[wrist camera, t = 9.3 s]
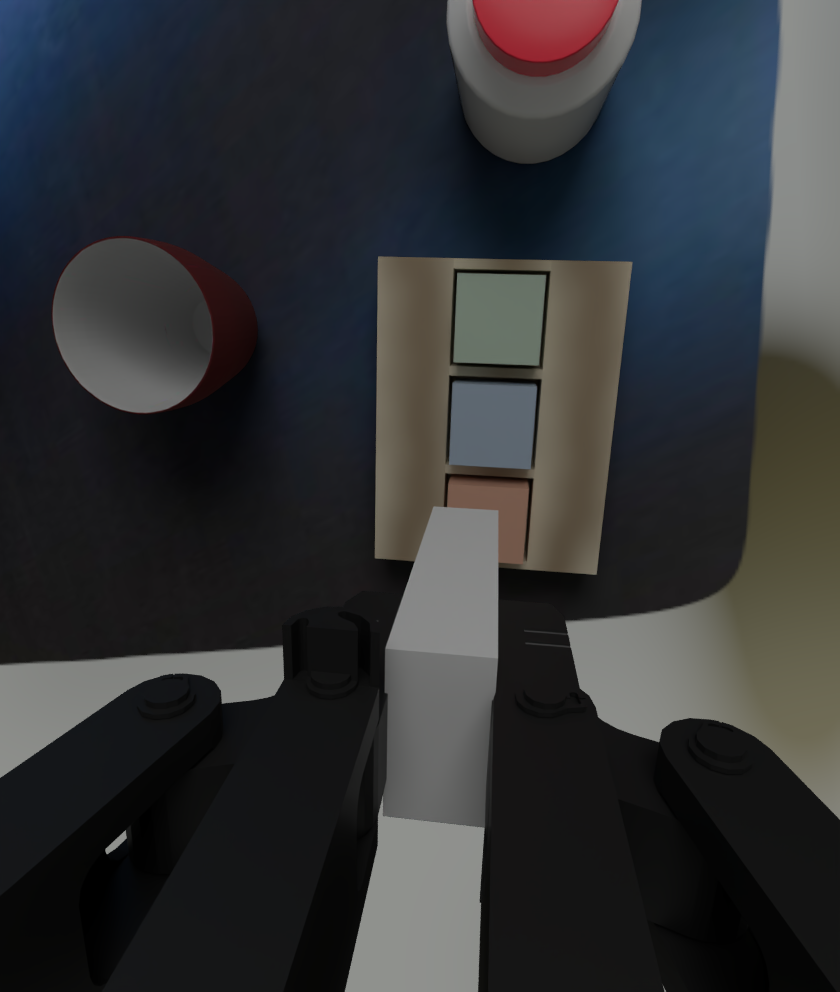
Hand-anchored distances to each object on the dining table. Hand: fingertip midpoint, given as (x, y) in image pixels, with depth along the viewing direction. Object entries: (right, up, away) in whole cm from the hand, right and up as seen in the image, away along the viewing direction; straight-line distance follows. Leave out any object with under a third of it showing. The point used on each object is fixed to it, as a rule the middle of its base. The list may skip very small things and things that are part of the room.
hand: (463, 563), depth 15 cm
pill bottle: (+5, +23, +19) cm, 30 cm away
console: (+3, +7, +23) cm, 25 cm away
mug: (-14, +12, +24) cm, 31 cm away
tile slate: (+3, +6, +22) cm, 23 cm away
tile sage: (+3, +11, +20) cm, 23 cm away
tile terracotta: (+3, +1, +23) cm, 23 cm away
